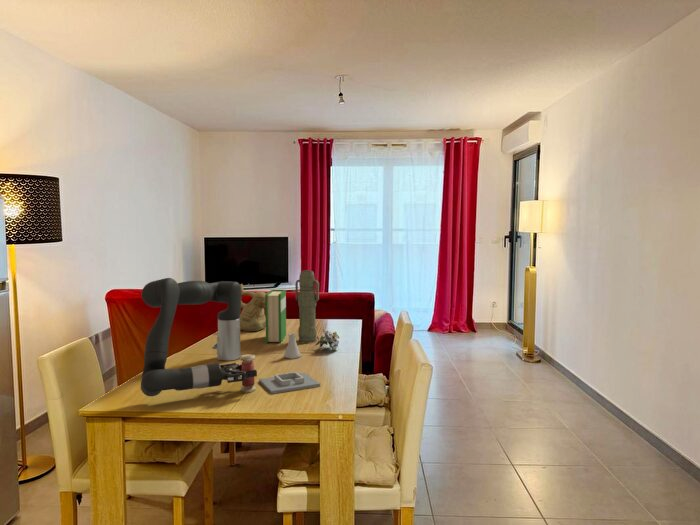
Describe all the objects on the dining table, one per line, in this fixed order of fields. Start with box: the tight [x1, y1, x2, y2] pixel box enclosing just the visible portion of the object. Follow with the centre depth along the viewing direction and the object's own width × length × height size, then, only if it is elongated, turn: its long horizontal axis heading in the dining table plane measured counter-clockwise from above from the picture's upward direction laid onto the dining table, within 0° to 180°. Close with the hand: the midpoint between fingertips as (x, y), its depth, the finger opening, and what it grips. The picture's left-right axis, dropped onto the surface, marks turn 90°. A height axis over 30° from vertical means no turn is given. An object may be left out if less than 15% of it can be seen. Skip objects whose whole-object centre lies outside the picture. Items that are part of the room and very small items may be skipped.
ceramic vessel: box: [239, 283, 267, 332], centre depth 273 cm, size 17×20×25 cm
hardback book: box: [264, 289, 287, 344], centre depth 248 cm, size 18×7×24 cm, turn 179°
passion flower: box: [315, 329, 340, 352], centre depth 227 cm, size 11×11×12 cm
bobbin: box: [239, 354, 257, 394], centre depth 171 cm, size 5×5×12 cm
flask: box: [283, 333, 302, 359], centre depth 215 cm, size 7×7×10 cm
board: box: [258, 371, 321, 395], centre depth 178 cm, size 18×15×3 cm
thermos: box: [294, 269, 320, 344], centre depth 244 cm, size 9×12×35 cm
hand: (253, 369), depth 172 cm, fingers open, 8 cm apart
